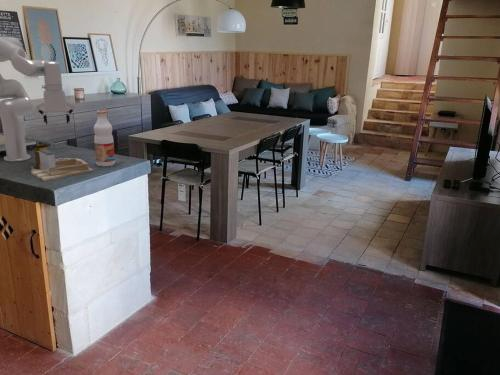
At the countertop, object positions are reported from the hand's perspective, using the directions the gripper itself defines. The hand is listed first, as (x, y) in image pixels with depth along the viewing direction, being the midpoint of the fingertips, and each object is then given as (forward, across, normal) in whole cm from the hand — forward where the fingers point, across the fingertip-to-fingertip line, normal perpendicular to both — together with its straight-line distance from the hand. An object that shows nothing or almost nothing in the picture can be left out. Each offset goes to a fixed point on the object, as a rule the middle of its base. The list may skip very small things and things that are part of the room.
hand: (57, 123), depth 213 cm
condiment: (+23, -9, 0) cm, 24 cm away
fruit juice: (+22, +21, -3) cm, 31 cm away
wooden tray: (+22, 0, -12) cm, 25 cm away
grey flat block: (+21, -6, -14) cm, 26 cm away
